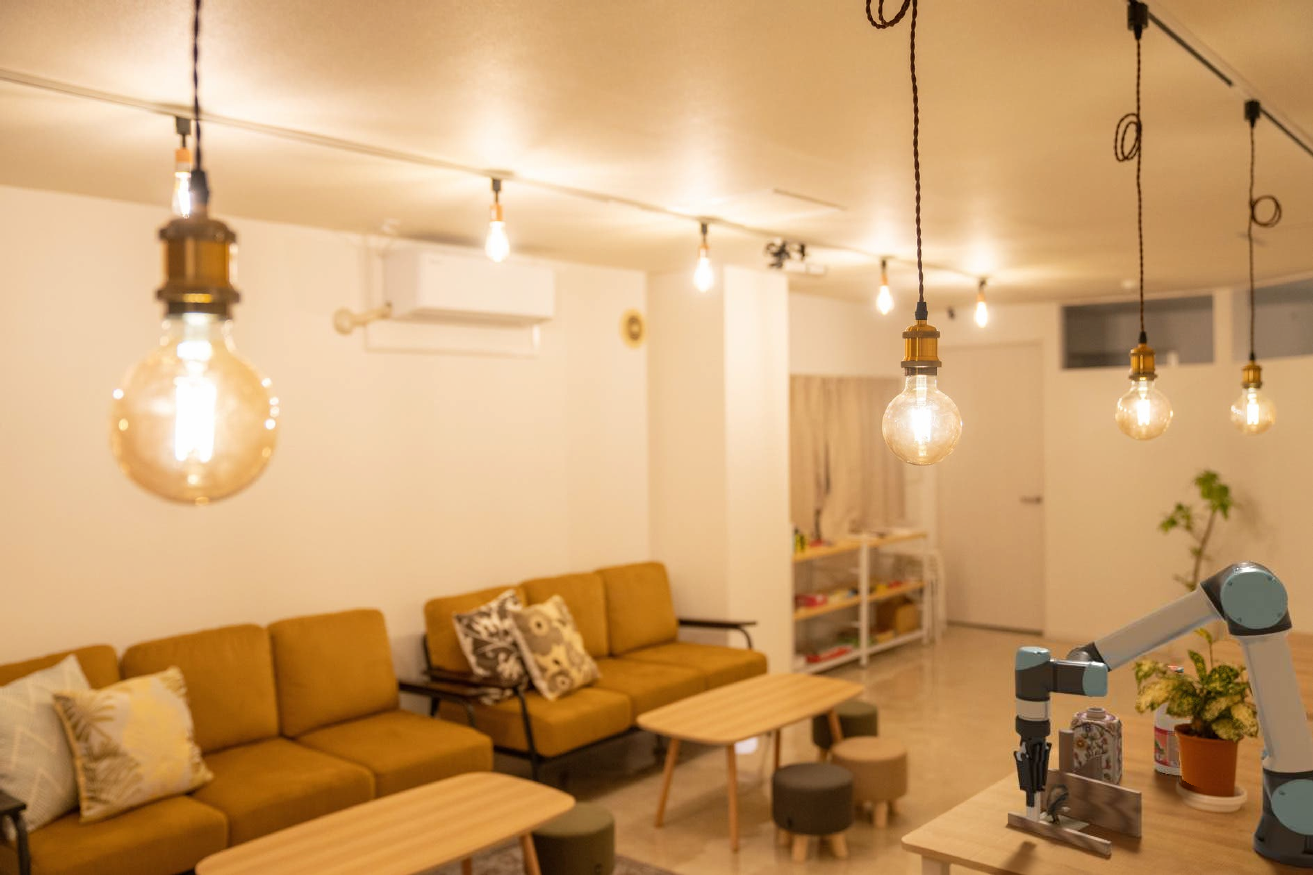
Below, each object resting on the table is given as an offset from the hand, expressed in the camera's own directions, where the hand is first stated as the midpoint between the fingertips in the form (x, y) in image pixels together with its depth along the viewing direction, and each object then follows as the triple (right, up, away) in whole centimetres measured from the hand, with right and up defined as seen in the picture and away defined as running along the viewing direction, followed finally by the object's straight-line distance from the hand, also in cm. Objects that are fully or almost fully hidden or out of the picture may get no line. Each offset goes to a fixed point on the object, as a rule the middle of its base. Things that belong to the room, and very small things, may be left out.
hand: (1033, 819), depth 233 cm
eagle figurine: (+10, 0, +8) cm, 13 cm away
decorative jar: (+31, -4, +40) cm, 51 cm away
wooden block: (+18, -4, +18) cm, 25 cm away
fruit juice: (+54, -3, +43) cm, 69 cm away
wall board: (+11, -4, +4) cm, 13 cm away
